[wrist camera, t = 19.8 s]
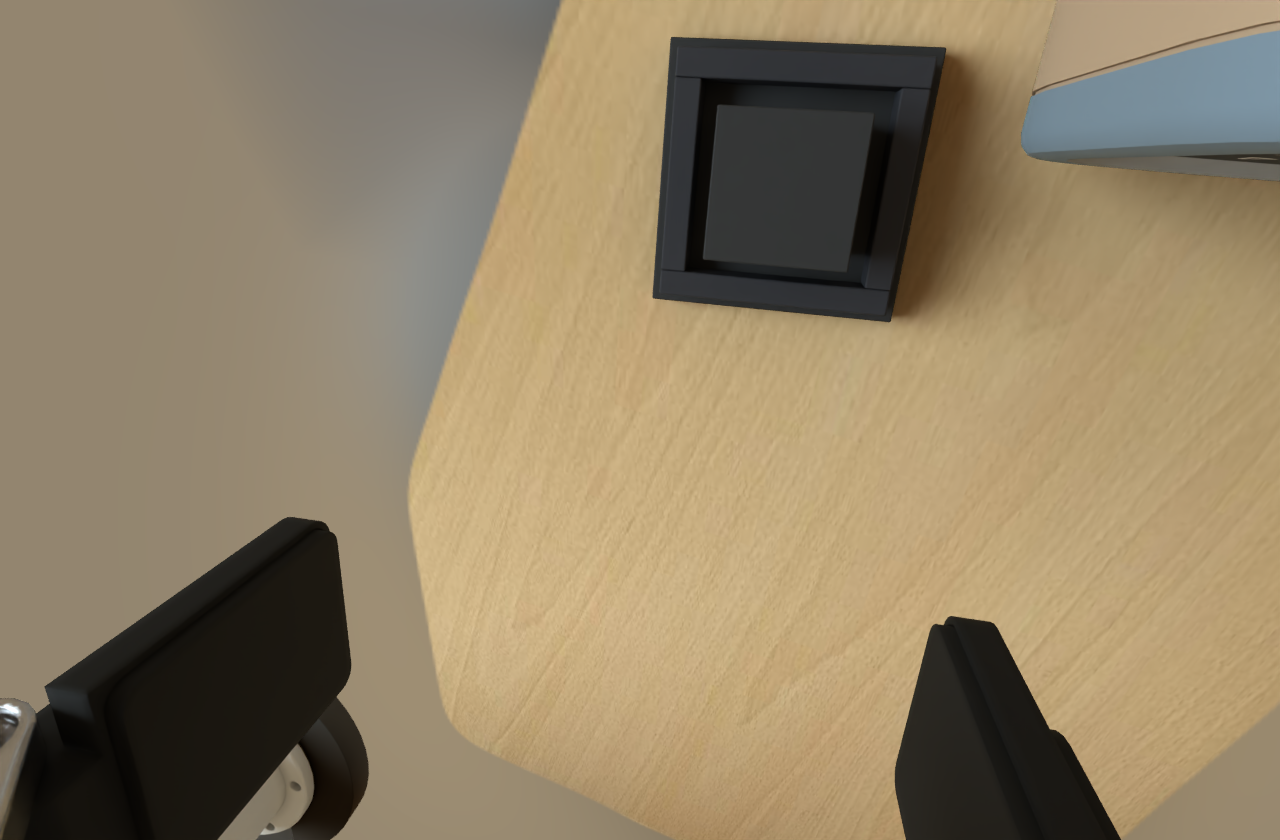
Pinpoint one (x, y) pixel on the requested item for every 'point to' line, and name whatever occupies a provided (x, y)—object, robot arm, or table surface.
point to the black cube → (786, 186)
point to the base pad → (800, 80)
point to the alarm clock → (1160, 87)
